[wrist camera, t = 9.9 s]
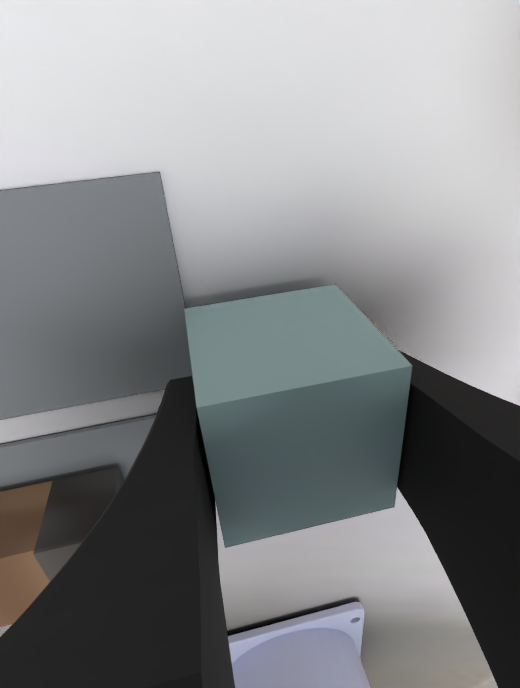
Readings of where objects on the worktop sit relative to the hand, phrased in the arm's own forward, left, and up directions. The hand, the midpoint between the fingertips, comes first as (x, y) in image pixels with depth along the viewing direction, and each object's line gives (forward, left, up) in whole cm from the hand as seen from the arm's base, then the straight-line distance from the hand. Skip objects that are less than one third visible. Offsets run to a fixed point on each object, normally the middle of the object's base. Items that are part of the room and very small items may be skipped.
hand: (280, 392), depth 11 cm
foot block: (0, 0, -2) cm, 2 cm away
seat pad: (+2, +5, -3) cm, 6 cm away
